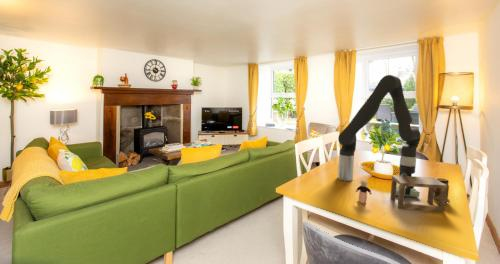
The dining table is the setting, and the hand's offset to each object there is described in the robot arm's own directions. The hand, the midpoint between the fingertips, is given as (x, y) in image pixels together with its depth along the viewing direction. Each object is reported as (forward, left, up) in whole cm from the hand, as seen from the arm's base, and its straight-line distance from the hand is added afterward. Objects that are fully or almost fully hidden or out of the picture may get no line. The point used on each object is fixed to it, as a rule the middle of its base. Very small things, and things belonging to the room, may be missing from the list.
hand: (405, 192), depth 140 cm
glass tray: (0, 0, -1) cm, 1 cm away
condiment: (+16, -4, -2) cm, 17 cm away
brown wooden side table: (0, -13, -2) cm, 13 cm away
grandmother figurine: (-26, -15, -2) cm, 30 cm away
